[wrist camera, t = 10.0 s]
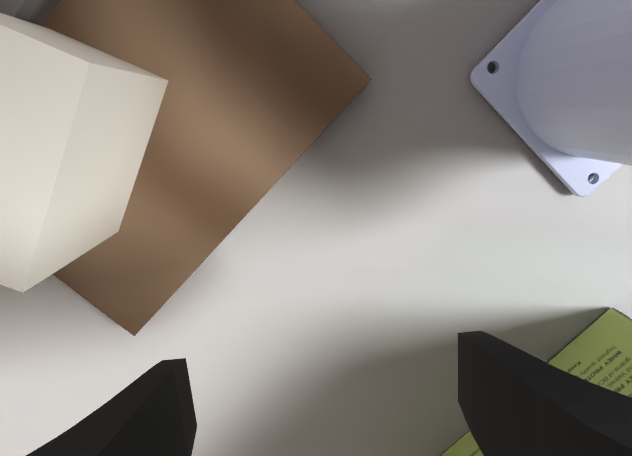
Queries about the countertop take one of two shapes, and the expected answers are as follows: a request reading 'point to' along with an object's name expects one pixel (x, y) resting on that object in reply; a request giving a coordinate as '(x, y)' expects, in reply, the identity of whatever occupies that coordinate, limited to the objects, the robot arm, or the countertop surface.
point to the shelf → (200, 127)
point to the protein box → (586, 364)
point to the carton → (65, 147)
